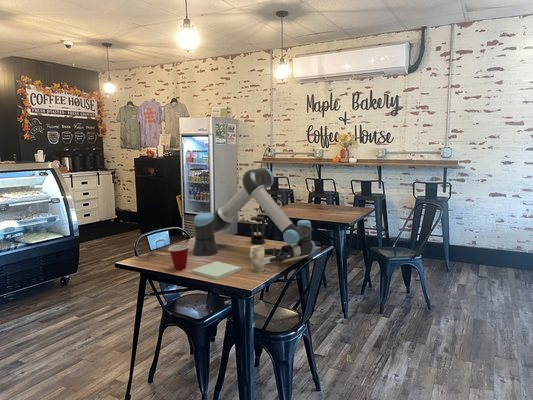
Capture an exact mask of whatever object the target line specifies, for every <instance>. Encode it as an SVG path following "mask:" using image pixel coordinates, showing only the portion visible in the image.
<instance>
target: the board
mask: <svg viewBox="0 0 533 400" xmlns="http://www.w3.org/2000/svg"><path fill="white" fill-rule="evenodd" d="M240 271H242V267H241V266H237V265H234V264H231V263H230V264H229V263H224V262H221V261H217V260H216V261H214V262H209V263H208V264H204V265H202V266H198V267H195V268H193V269H191V270H190V273H191V272H192V273H191V274H194V273H195V275H197V274H198V275H197V276H202V277H204V278H209V279H213V280H219V279H222V278H224V277H227V276H229V275H232V274H234V273H237V272H240Z"/></svg>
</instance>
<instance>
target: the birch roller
mask: <svg viewBox="0 0 533 400" xmlns="http://www.w3.org/2000/svg"><path fill="white" fill-rule="evenodd" d="M264 249H265V246H264V245H262V244H261V245H252V246H250V252H251V258H250V270H251V272H253V273H260V272H264V271H265V270H266V268H265V267H266V266H265V265H266V264H263V258H265V255H264Z"/></svg>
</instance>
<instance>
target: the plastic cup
mask: <svg viewBox="0 0 533 400" xmlns="http://www.w3.org/2000/svg"><path fill="white" fill-rule="evenodd" d="M189 248H190V245H188V244H177V245H174V246H173V245H172V246H170V247H169V248H168V252H169V254H170V256H171V260H172V264H173V268H174V270H175V269H176V270H175V271H177V270H180V271H184V270H183V269H185V268H187V263H188V254H189ZM185 270H186V269H185Z"/></svg>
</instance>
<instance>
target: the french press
mask: <svg viewBox="0 0 533 400" xmlns="http://www.w3.org/2000/svg"><path fill="white" fill-rule="evenodd" d="M253 210H255V211H256V212H259V211H258V210H261V207H260V208H259V207H256V208H253ZM264 219H265V217H264V216H251V217H250V221H251V222H252V221H255V222H256V223H252V224H250V229H251V233H250V234H251V237H250V245H252V246H255V245H261V246H262V245H264V244H266V241H265V238H266V224H265V223H261V222H264ZM255 229H256V232H255ZM258 229H260V231H259V230H258Z"/></svg>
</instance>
